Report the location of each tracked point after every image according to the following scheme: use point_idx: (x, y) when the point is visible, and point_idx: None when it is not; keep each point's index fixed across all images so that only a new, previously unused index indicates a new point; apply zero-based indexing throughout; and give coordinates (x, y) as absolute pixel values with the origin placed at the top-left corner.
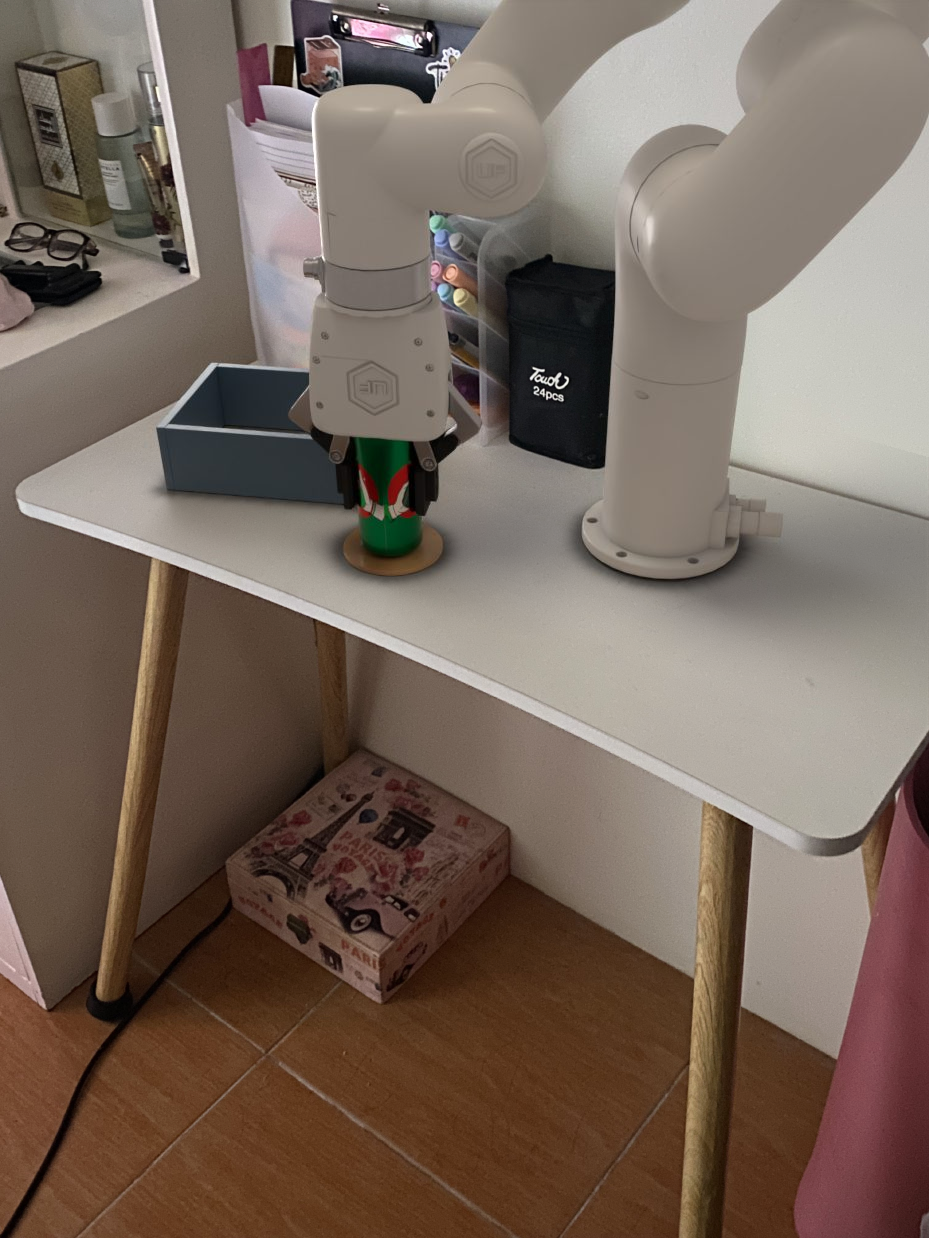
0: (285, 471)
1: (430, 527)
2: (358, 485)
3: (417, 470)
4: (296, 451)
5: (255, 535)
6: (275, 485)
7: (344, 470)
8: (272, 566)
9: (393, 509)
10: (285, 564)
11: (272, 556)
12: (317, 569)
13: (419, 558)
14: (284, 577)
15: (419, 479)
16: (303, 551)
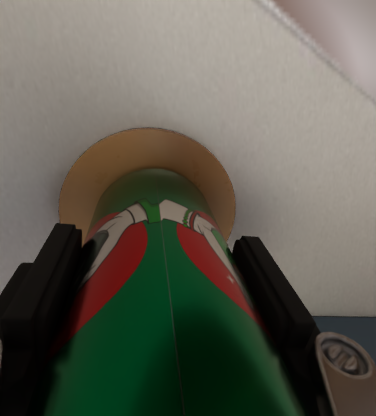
0: None
1: None
2: (240, 273)
3: (28, 328)
4: None
5: (363, 233)
6: (339, 333)
7: (298, 309)
8: (347, 151)
9: (134, 217)
10: (326, 158)
11: (345, 180)
12: (275, 145)
13: (94, 177)
14: (331, 117)
15: (29, 295)
16: (296, 197)
